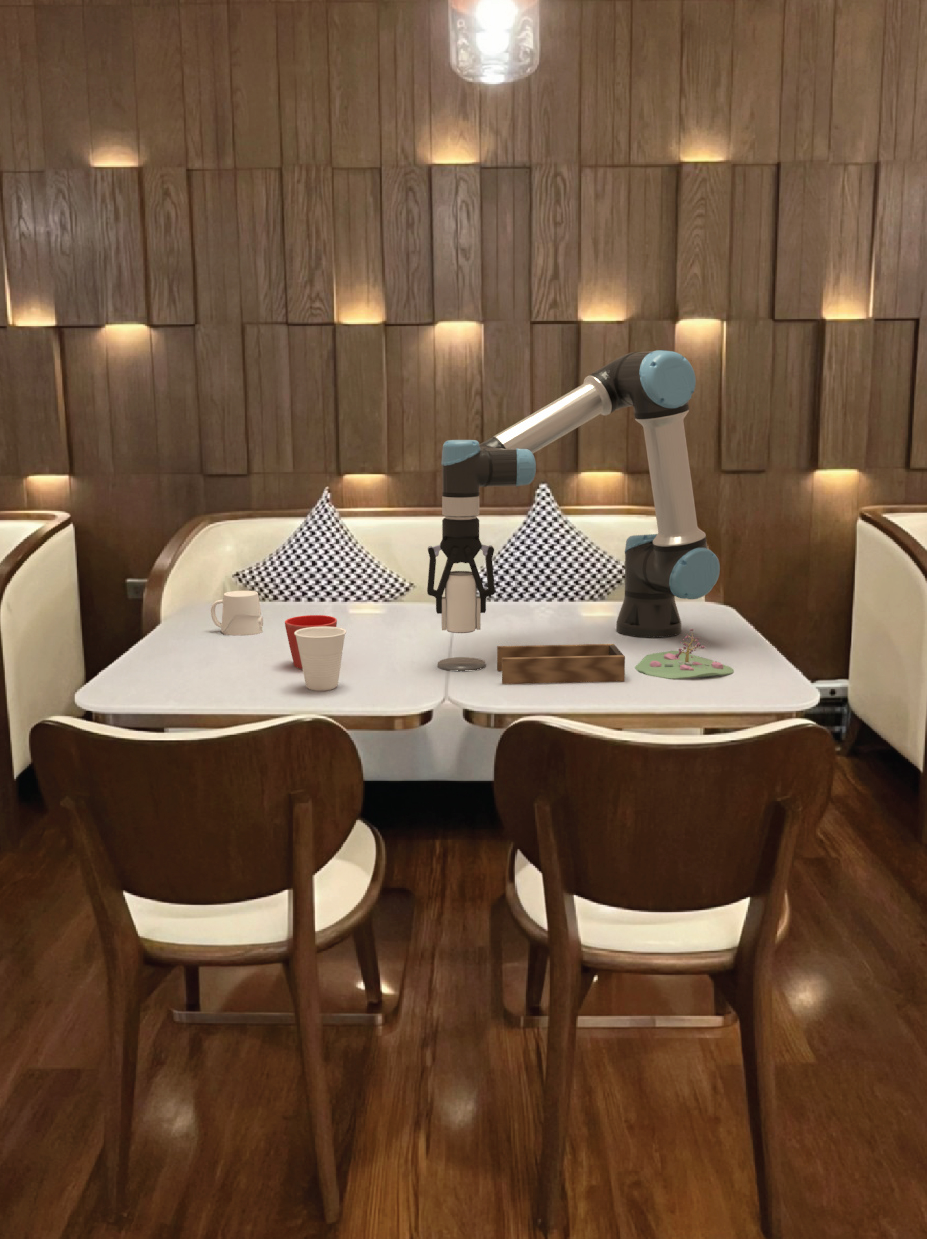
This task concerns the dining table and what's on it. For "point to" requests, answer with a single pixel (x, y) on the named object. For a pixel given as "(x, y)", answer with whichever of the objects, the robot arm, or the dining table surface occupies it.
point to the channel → (560, 663)
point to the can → (460, 602)
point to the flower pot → (301, 623)
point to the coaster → (461, 664)
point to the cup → (321, 656)
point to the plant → (681, 664)
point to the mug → (239, 613)
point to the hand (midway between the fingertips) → (460, 628)
